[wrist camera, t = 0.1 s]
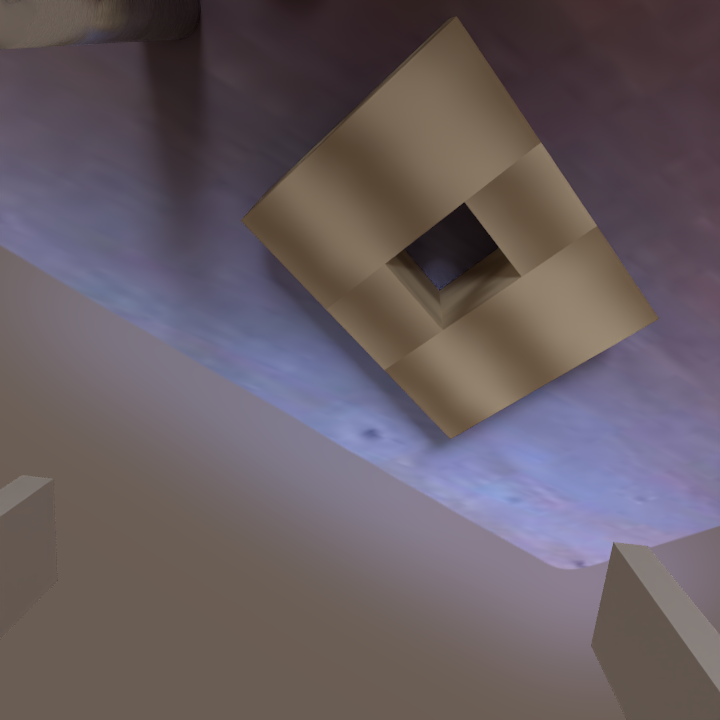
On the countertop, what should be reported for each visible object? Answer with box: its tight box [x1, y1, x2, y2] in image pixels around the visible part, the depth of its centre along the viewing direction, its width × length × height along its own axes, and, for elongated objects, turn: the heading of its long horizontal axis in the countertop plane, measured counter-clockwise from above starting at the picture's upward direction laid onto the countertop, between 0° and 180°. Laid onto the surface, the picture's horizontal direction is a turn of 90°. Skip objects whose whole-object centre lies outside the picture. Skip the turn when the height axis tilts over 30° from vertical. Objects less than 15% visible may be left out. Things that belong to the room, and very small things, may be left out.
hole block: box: [241, 16, 659, 439], centre depth 34 cm, size 15×20×6 cm
